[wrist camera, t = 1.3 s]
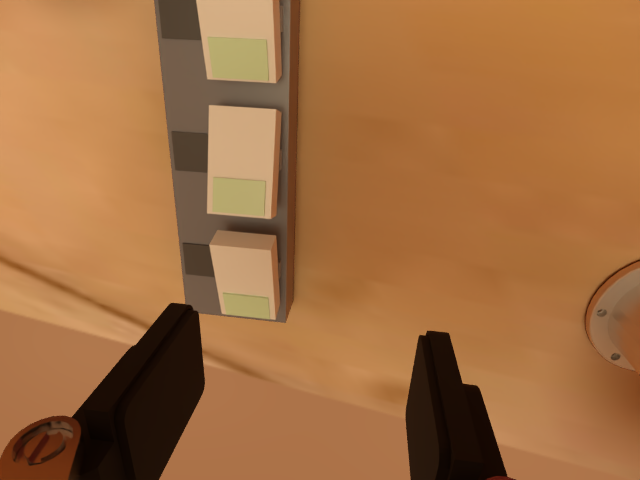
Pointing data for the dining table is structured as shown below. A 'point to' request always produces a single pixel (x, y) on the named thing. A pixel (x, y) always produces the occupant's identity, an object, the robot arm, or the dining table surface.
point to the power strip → (192, 147)
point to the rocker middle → (243, 161)
